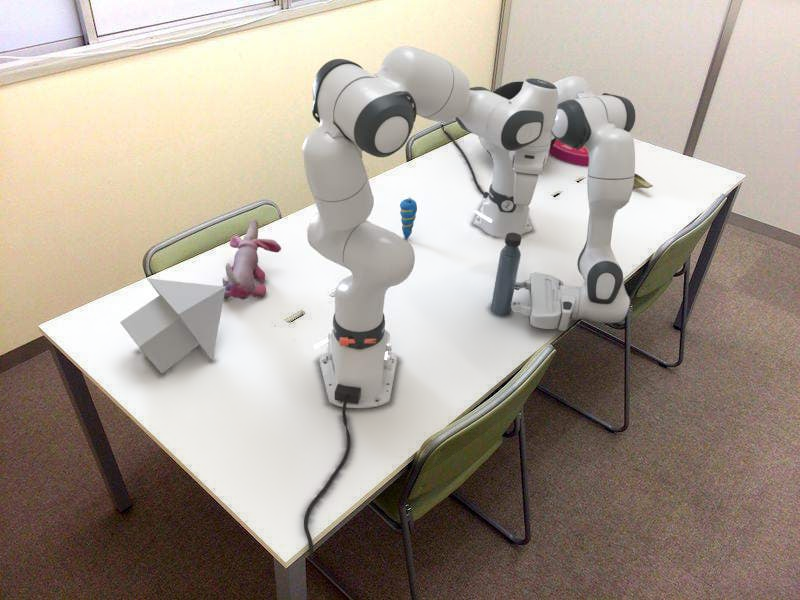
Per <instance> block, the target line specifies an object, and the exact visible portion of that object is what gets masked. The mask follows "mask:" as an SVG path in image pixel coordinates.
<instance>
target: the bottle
mask: <svg viewBox="0 0 800 600" xmlns="http://www.w3.org/2000/svg"><path fill="white" fill-rule="evenodd" d="M500 250H501V251H500V253H499V259H498V263H497V269H496V270H497V271H496V276H495V281H494V287H493V288H494V289H493V292H492V293H493V294H492V299H491V305H490V310H491V312H492V313H493V314H494V315H497V316H502V317H503V316H507V315H509V314H510V313H511V308H512V305H513V299H514V293H515V290H514V288H515V283H516V282H517V277H518V272H519V266H520V262H521V256H522V255H521V254H522V253H521V250H520V248H519V246H518V247H509V246H507V245H506V244H505V246H503V248H502V249H500Z"/></svg>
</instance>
